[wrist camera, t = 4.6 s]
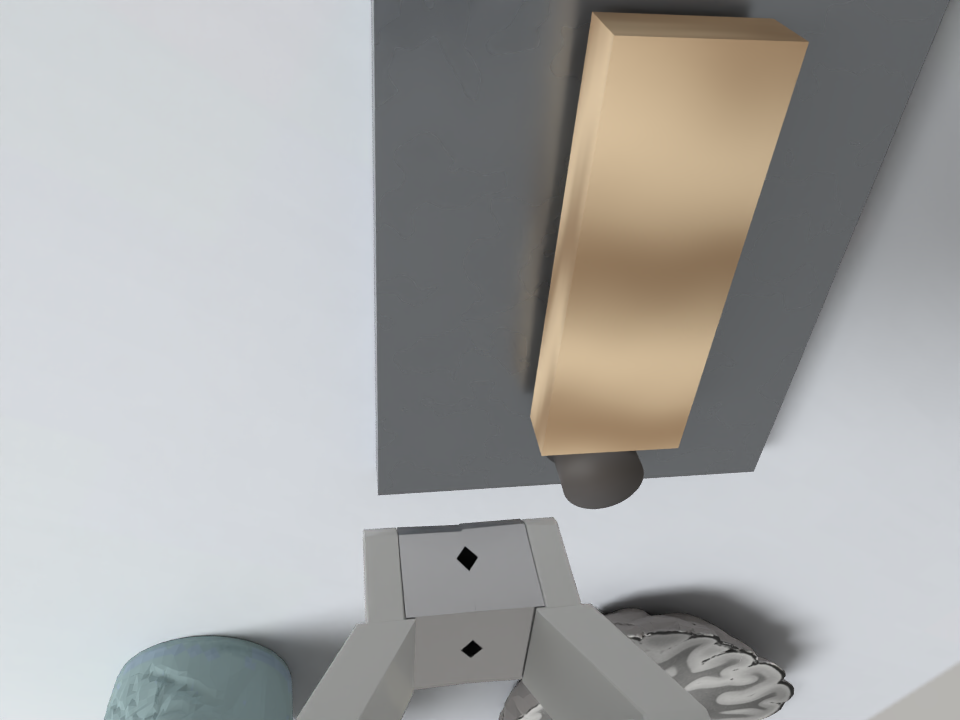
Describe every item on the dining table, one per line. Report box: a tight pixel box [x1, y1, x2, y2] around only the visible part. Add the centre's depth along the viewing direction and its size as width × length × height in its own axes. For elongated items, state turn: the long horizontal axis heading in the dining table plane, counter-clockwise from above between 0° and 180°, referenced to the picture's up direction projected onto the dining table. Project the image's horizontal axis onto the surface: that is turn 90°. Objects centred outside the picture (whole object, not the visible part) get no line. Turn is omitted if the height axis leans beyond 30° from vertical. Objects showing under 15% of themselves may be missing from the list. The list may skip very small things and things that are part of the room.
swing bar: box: [530, 12, 809, 509], centre depth 25 cm, size 17×5×2 cm, turn 176°
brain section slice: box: [499, 608, 794, 720], centre depth 46 cm, size 20×17×3 cm
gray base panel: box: [371, 0, 949, 495], centre depth 24 cm, size 28×16×2 cm, turn 176°
